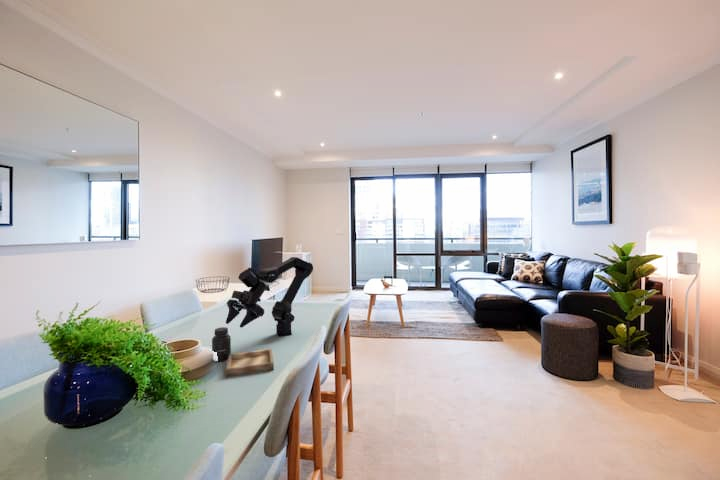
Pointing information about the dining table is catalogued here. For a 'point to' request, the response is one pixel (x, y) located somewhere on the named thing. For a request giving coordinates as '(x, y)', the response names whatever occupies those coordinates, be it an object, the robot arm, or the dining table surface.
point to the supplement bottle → (221, 343)
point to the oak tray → (249, 362)
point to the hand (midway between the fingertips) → (233, 325)
